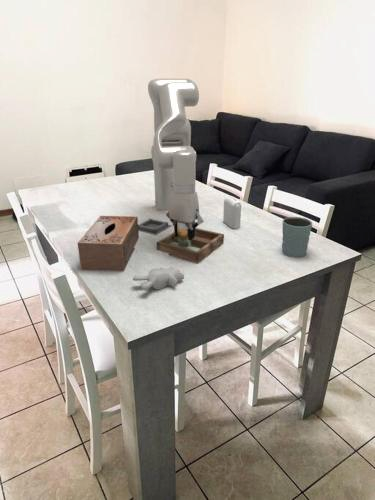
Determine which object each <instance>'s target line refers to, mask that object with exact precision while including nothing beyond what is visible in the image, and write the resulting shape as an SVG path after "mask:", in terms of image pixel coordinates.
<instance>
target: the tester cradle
mask: <svg viewBox="0 0 375 500" xmlns="http://www.w3.org/2000/svg"><path fill="white" fill-rule="evenodd" d="M171 227H173V224H169V222H166V221H162V220H157V219H153V218H149V219H146V220H145V221H143V222H141V223H138V232H142V233H145V234H149V235H154V236H157V235H159V234H160V233H162V232H164V231H166V230H167V229H169V228H171Z"/></svg>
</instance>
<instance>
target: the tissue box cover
mask: <svg viewBox="0 0 375 500" xmlns="http://www.w3.org/2000/svg"><path fill="white" fill-rule="evenodd" d="M138 218H139V217H138V216H128V215H127V216H125V215H124V216H123V215H122V216H121V215H99V217H98V218H97V219H96V220H95V221H94V223H93V224H92V226H91V227H89V229H88V230H87V231H86V232H85V233H84V234H83V236H82V237H81V238H80V239H79V240H78V242H77V249H78V257H79V263H80V269H81V271H104V272H105V271H107V272H108V271H109V272H110V271H111V272H113V271H114V272H124V271H125V270H126V268H127V265H128V263H129V261H130V259H131V257H132V255H133V253H134V252H135V250H136V249H135V246H136V244H137V242H138V240H139V238H140V235H139V231H138V225H139V219H138Z"/></svg>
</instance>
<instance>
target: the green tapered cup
mask: <svg viewBox="0 0 375 500" xmlns="http://www.w3.org/2000/svg"><path fill="white" fill-rule="evenodd" d="M312 226H313V221H311V220H310V219H308V218H306V217H299V216H290V217H285V218H284V219H283V220H282V240H281V241H282V243H281V252H282V254H283V255H285V256H286V257H290V258H303V257H305V256H306V255H307V251H308V248H309V247H308V245H309V242H310V236H311V230H312V228H313V227H312Z"/></svg>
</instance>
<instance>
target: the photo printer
mask: <svg viewBox="0 0 375 500" xmlns="http://www.w3.org/2000/svg"><path fill="white" fill-rule="evenodd" d="M241 214H242V204H241V202H240V200H239V199H237V198H236V197H234V196H232V195H231V196H230V195H229V196H226V197H225V198H224V199H223V218H222V220H223V221H222V222H223V223H224V224H225V225H227V226H228V227H230V228H232V229H233V230H235V229H237V230H238V229H239V228H240V227H241V217H242V215H241Z"/></svg>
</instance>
